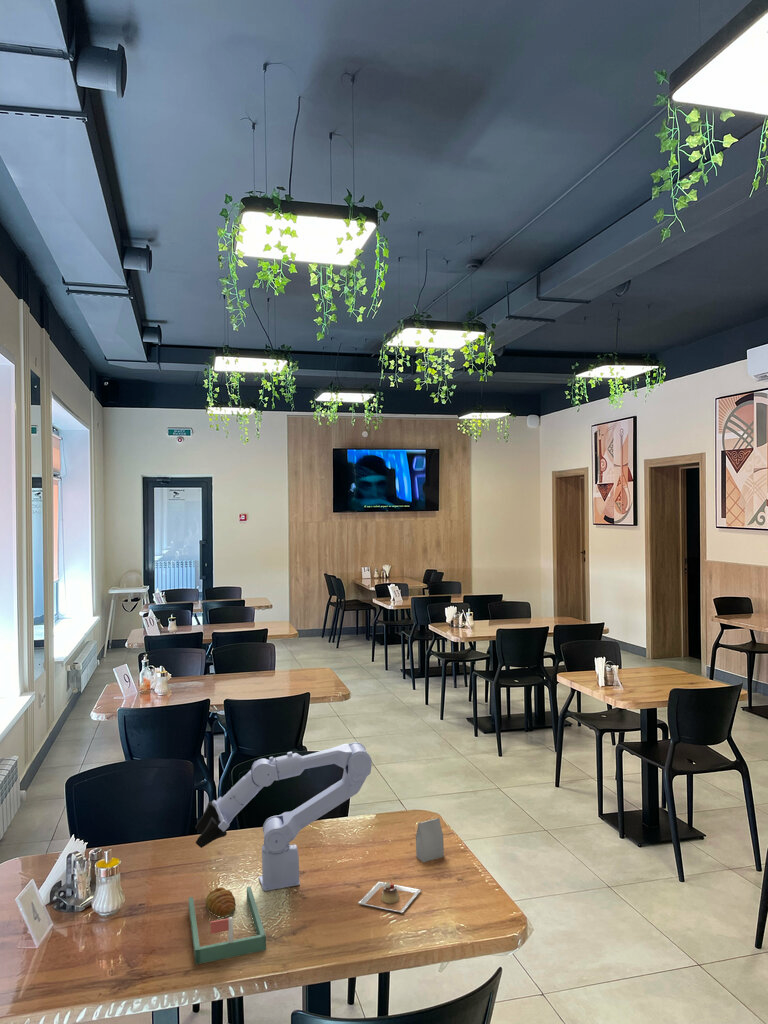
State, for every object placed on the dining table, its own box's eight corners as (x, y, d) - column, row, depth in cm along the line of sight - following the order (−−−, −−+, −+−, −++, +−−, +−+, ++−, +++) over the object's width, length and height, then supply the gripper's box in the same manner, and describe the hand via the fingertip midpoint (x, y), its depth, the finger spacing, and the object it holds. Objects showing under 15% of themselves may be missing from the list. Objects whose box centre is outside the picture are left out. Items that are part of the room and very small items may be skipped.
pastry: (242, 914, 172) (242, 898, 172) (215, 923, 169) (214, 906, 169) (229, 898, 180) (228, 883, 180) (202, 906, 177) (202, 890, 177)
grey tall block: (443, 856, 200) (442, 820, 200) (423, 862, 197) (422, 825, 197) (436, 851, 203) (435, 816, 204) (416, 857, 200) (415, 821, 200)
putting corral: (250, 898, 179) (250, 866, 180) (266, 950, 157) (265, 912, 157) (188, 910, 175) (188, 876, 175) (195, 964, 152) (194, 926, 152)
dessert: (421, 894, 180) (421, 874, 181) (402, 917, 170) (402, 896, 170) (378, 885, 185) (378, 866, 186) (357, 907, 175) (357, 887, 175)
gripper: (224, 776, 192) (186, 814, 190) (228, 800, 178) (187, 841, 176) (242, 793, 194) (205, 831, 192) (248, 818, 180) (207, 859, 178)
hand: (198, 837), depth 184 cm, fingers open, 7 cm apart
